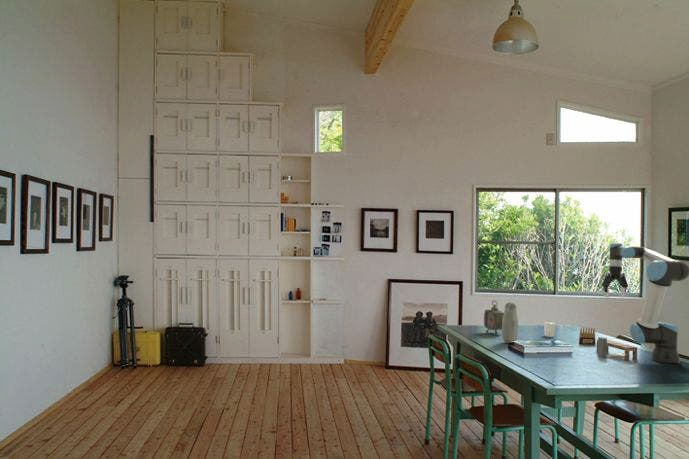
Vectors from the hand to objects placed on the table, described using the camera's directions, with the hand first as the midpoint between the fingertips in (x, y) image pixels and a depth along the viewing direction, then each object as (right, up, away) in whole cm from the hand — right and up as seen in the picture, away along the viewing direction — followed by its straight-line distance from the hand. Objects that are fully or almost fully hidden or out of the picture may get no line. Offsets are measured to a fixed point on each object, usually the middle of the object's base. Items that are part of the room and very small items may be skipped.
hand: (614, 297), depth 349 cm
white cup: (-29, -34, +38) cm, 59 cm away
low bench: (-11, -34, -24) cm, 43 cm away
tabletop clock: (-70, -33, +41) cm, 87 cm away
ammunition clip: (-13, -35, +12) cm, 39 cm away
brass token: (-4, -35, -21) cm, 41 cm away
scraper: (-15, -34, -25) cm, 45 cm away
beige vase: (-69, -33, +6) cm, 77 cm away
